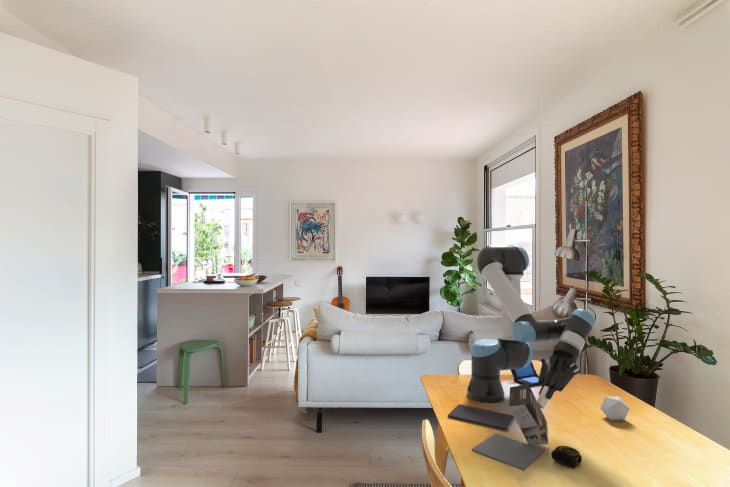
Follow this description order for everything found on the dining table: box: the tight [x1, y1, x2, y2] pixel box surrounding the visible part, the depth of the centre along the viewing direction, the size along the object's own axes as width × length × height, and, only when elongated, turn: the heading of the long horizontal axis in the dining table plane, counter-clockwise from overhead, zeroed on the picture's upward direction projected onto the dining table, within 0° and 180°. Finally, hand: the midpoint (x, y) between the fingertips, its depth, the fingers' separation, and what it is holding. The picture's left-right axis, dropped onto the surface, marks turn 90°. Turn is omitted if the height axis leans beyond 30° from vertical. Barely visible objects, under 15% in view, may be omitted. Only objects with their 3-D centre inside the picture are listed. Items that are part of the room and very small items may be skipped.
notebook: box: [447, 403, 515, 432], centre depth 148 cm, size 13×2×21 cm
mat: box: [471, 433, 545, 472], centre depth 123 cm, size 16×16×1 cm
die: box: [599, 396, 631, 421], centre depth 149 cm, size 8×9×10 cm
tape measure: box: [550, 445, 582, 469], centre depth 116 cm, size 7×7×4 cm
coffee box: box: [508, 384, 549, 446], centre depth 127 cm, size 9×6×16 cm
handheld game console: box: [510, 360, 541, 388], centre depth 192 cm, size 16×13×9 cm
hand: (539, 405), depth 127 cm, fingers closed
